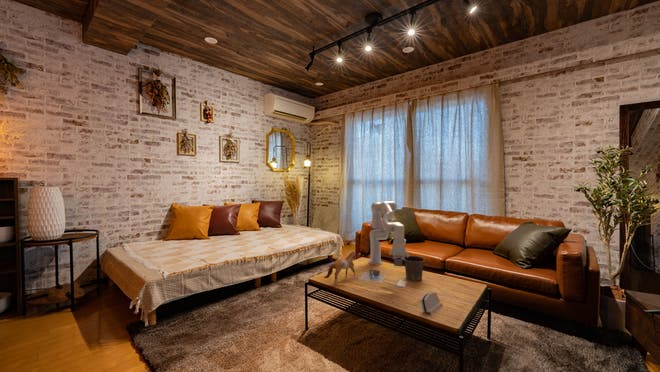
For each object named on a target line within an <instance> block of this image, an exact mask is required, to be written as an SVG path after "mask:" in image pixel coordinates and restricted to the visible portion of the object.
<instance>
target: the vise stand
mask: <svg viewBox="0 0 660 372" xmlns="http://www.w3.org/2000/svg"><path fill="white" fill-rule="evenodd" d="M380 273H381V271H380V270H376V269H369V271H368V272H367V271H364V272H363V273H362V274H361V275H360V276H359V277H358V279H357V280H361V281H366V282H372V283H376V284H377V283H378V284H382V281H383V280H384V279H385V277H386V274H380Z"/></svg>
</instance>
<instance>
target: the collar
mask: <svg viewBox="0 0 660 372" xmlns="http://www.w3.org/2000/svg"><path fill="white" fill-rule="evenodd" d="M393 266H395V267H401V268H402V267H403V266H404V265H403V258H402V256H395V258H394V263H393Z"/></svg>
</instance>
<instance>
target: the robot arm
mask: <svg viewBox="0 0 660 372" xmlns="http://www.w3.org/2000/svg"><path fill="white" fill-rule="evenodd" d="M370 209H371V213H372V217H371V227H372V229H371V230H370V231H369V239H370V260H369V261H368V264H369V265H373V266H381V265H382V264H383V261H382V259H381V257H382V256H381V255H382V254H381V252H382V250H381V249H382V246H381V242H380V240H381V241H384V240H387V239H388V238H389V233H393V242H392V245H391V246H392V247H391V250H390V251H389V252H388V255H389V256H390V257H391V258H392V263H393V264H394V258H395V257H401V258H403V266H405V259H406V258H407V257H409V256H410V254H409V253H408V252H407V245H406V242H407V239H405V225H404V224H403V223H401V222H398V221H397V222H390V220H391V219H392V218H394V216H395V214H394V212H395V211H396V210H397V203H396V202H395V201H394V200H393V201H392V200H389V201H387V200H386V201H381V202H378V201H377V202H373V203H371V206H370Z"/></svg>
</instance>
